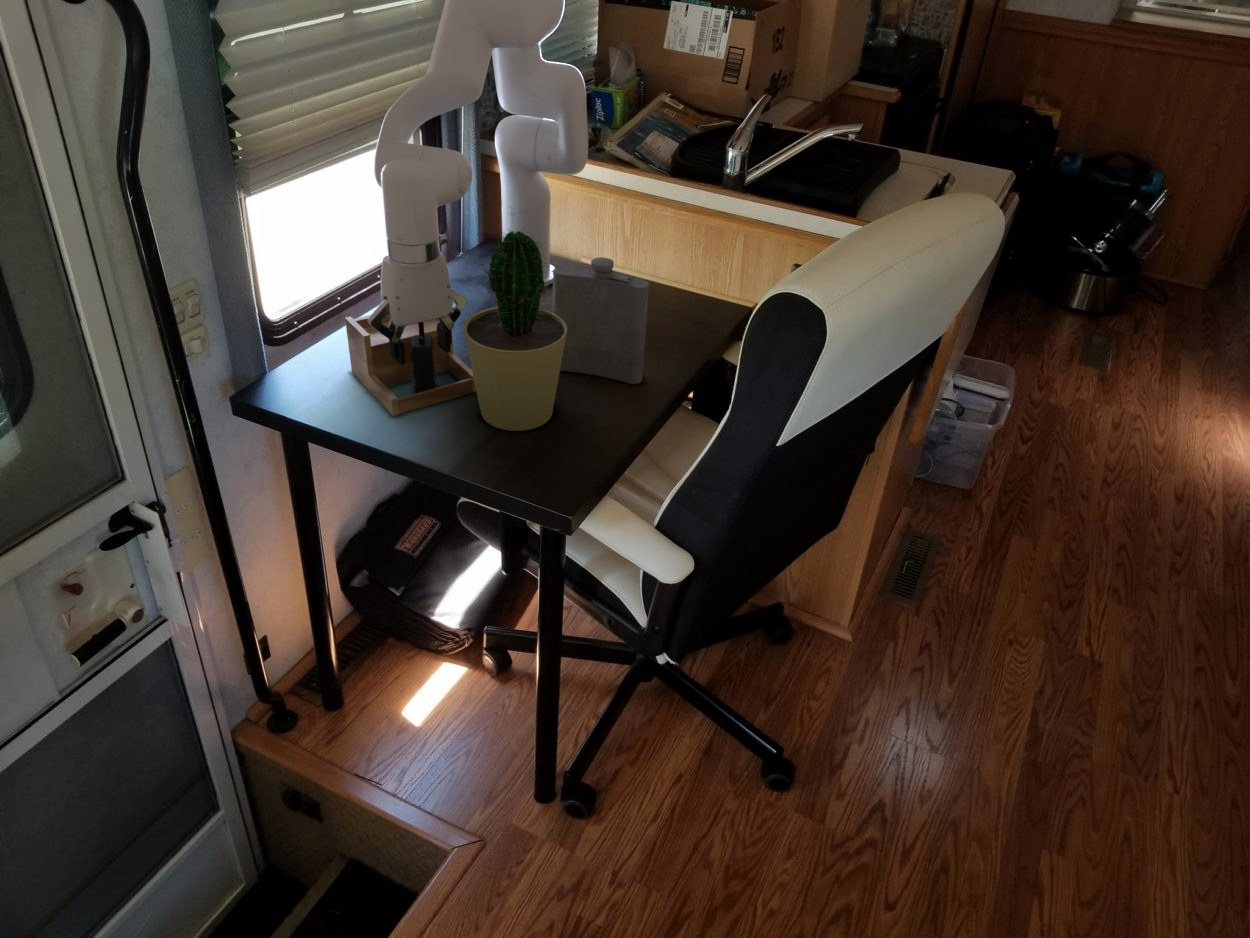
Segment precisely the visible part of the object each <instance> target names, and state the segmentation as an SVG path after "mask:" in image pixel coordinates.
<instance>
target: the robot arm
mask: <svg viewBox="0 0 1250 938" xmlns="http://www.w3.org/2000/svg"><path fill="white" fill-rule="evenodd" d="M564 11H565V0H445V2H444V4H443V9H442V12H441V16H440V19H439V24H438V27H437V31H436V35H435V39H434V43H433V46H432V51H431V55H430V58H429V62H428V67H427V70H426V72H425V74H424V75H423V76H422V77H421V78H420V79H418V80H417V81H416V82H415V83H413V84H412V85H410V86H409V87H408V88H407V89H406V90H405V91H404V92H402V94H401V95H400V96H399V97H398V98H397V99H396V100H395V101H394V103H393V104H392V105H391V106H390V107H389V109H388V110H387V112H386V113H385V116H384V118H383V121H382V123H381V127H380V131H379V135H378V138H377V139H378V140H377V142H376V147H375V150H374V151H375V152H374V157H373V176H374V179H375V182H376V184H377V185H378V186H379V187H380V188H381V193H382V204H383V205H382V206H383V215H384V227H385V235H386V237H385V238H386V247H387V255H385V256H383V258H382V261H381V271H380V304H379V305H378V307H376V308H375V309H374V311H373V312H372V313H371V314H369V315H370V317H369V318H368V319H367V321H368V323H369V324H370V325H371V326H373V327H374V328H375V329H376V330H378V331H379V332H380V333H381V334H382V335H384V336H385V337H387V338H388V339H389V344H390V353H391V357H392V358H393V359H395V360H396V361H397V362H398V363H399V364H400V365H404V364H405V363H406V361H405V350H404V342H403V341H402V340H401V339H400V338H401V336H402V333H403V331H404V328H405V326H406V325H411V324H415V323H419V322H424V321H428V320H432V319H436V318H438V319H439V321H440V322H439V323H437V339H438V346H439V347H440V348H441V349H442V350H443V351H445V352H446V353H450V352H451V347H450V345H451V344H452V341H453V333H452V334H451V329H452V330H454V327H455V324H456V322H457V320H458V319H459V317H461V315H462V311H463V310H464V309H465V307H466V305H467V304H468V299H467V298H466V297H465V296H463V295H462V294H460V293H459V292H456V291H455V290H453V289H452V285H451V278H450V273H449V269H448V265H447V261H446V257H445V254H444V253H443V252H442V246H443V245H444V244H447V243H448V237H447V235H446V234H445V233H444V234H440V232H439V231H440V230H439V229H440V228H439V215H438V208H439V207H442V206H445V205H449V204H452V203H455V202H457V201H459V200H460V199H462V198H463V197H464V196H465V195H466V194H467V193H468V191H469V189H470V187H471V184H472V181H473V167H472V165H471V162H470V160H469V159H468V158H467V156H466V155H464V154H463V153H462V152H460V151H457V150H454V149H450V148H443V147H435V146H429V145H423V144H417V143H409V142H410V140H411V138H412V136H413V135H414V133H415V132H416V130H417V129H419V127H421V126H422V125H423V124H425V123H426V122H427V121H430V120H431V119H433V118H435V117H438V116H440V115H444V114H446V113H449V112H451V111H454V110H458V109H460V108H463V107H465V106H468V105H471V104H473V103H475V102H477V101H478V100H479V99H480V98H481V96H482V93H483V91H484V86H485V82H486V77H487V74H488V69H489V65H490V62H491V57H492V65H493V74H494V80H495V81H494V83H495V89H496V95H497V99H498V103H499V105H500V107H501V108H502V110H504V111H505V112H507V113H509V114H512V115H508V116H506V117H503V119H501V120H500V121H499V122H498V124H497V126H496V128H495V131H494V132H495V133H494V147H495V152H496V157H497V163H498V167H499V177H500V195H501V197H500V198H501V200H500V201H501V238H502V237H505V235H506V234H508V233H510V232H512V231H513V232H514V234H515V232H516V233H517V231H519V232H520V233H521V230H522V229H523V230H522V232H523V234H524V235H527V236H529V237H530V238H531V236H532V240H534V242H538V241H539V242H538V244H539V243H540V244H539V245H538V244H537V247H538V249H539V250H540V251H539V252H540V253H541V255H542V256H544V257H542V256H541V260H542V266H547V267H542V270H543V275H544V276H543V280H544V283H545V282H546V283H552V284H553V270H554V269H555V268H556V267H555V266H554V265H552V264H551V201H552V200H551V199H552V198H551V189H550V187H549V184H548V181H547V179H546V178H545V175H544V174H543V173H550V174H556V175H563V176H575V175H578V174H579V173H581V172H582V171H583V170H584V169H585V167H586V165H587V162H588V155H589V131H588V110H587V108H588V107H587V92H586V83H585V80H584V77H583V75H582V73H581V71H580V69H578V68H577V67H576V66H574V65H572V64H568V63H564V62H556V61H548V60H546V59H544V58H543V57H542V50H541V43H542V42H543V41H544V40H545V39H547V38H549V36H550V35H552V34H553V33H554V32H555V31H556V29H557V28H558V27H559V25H560V23H561V21H562V19H563V15H564ZM523 227H524V228H523ZM507 229H508V230H507ZM509 229H510V230H509ZM503 230H504V231H503ZM508 231H509V232H508ZM502 232H503V233H502ZM504 233H505V234H504ZM525 233H526V234H525ZM527 233H528V234H527ZM502 234H503V235H504V236H502ZM530 234H531V235H530ZM503 239H504V238H503ZM501 240H502V239H501ZM501 242H503V240H502V241H501ZM541 242H542V243H541ZM545 242H546V243H545ZM543 245H544V246H543ZM541 246H542V247H541ZM539 247H540V248H539ZM545 249H546V250H545ZM542 251H543V252H542ZM543 258H547V259H543ZM543 262H546V263H543ZM544 272H545V273H544ZM546 278H547V279H546ZM549 285H550V284H544V287H545V286H549ZM385 316H386V317H391V319H390V321H389V324H388V326H387V327H386V326H385V325H383V324H382V323H381V321H382V319H383V318H384V317H385Z"/></svg>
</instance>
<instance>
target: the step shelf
mask: <svg viewBox="0 0 1250 938" xmlns="http://www.w3.org/2000/svg"><path fill="white" fill-rule="evenodd" d="M370 315H371V314H369V315H363V316H360V317H356V318H353V317H352V316H346V317H344V321H345V328H346V329H345V330H346V336H347V343H348V344H347V345H348V353H349V361H350V367H351V368H350V369H351V373H352V374H353V375H354V376H355V378H357V379H358V381H359V382H360V383H361V384H362V385H363V386H364V387H365V388H366V389H367V390H368V391H369V392H370V393H371V394H372V395H373V397H374V398H375V399H377V401H378V402H379V403H380V404H381V405H382V406H383V407H384V408H385V409H386V410H387V412H388V413H390V415H391V416H393V417H395V416H397V415H401V414H405V413H408V412H411V411H415V410H418V409H422V408H425V407H428V406H431V405H432V406H433V405H435V404H439V403H443V402H446V401H449V400H452V399H456V398H459V397H462V396H466V395H470V394H473V393H477V391H476V386H475V382H474V377H473V372H472V368H471V367H469V366H468V364H466V363H465V362H464V361H462V360H461V359H460V358H459V357H458V356H457V355H456V354H454V345H453V344H454V343H453V340H452V344H451V345H450V347H451V352H450V353H446V352H445V351H443V350H442V349H441V348H440V347H439V346H438V339H437V323H439V322H440V321H439V319H438V318H436V319H432V320H428V321H424V335H430V336H432V339H433V354H434V368H435V375H437V374H441V373H446V372H448V371H449V372H450V373H451V374H452V375H453V376H455V378H457V379H458V380H459V381H455V382H451V383H447V384H444V385H441V386H438V387H437V386H436V388H434V389H430V390H426V391H423V392H419V393H416V394H415V393H412V394H409V395H406V396H402V397H398V396H396V395H395V394H394V393H393V392H392V391H391V390H390V389H389V388H390V387H395V386H398V385H402V384H405V383H408V382H412V381H413V382H414V372H413V362H411V349H412V348H411V347H412V337H413V336H414V335H419V325H418V323H415V324H411V325H406V326H405V328H404V331H403V333H402V336H401V338H400V339H401V340H402V341H403V342H404V350H405V361H406V363H405V364H404V365H400V364H399V363H398V362H397V361H396V360H395V359H393V358H392V357H391V353H390V344H389V339H388V338H387V337H385V336H384V335H382V334H381V333H380V332H379V331H378V330H376V329H375V328H374V327H373V326H371V325H370V324H369V323H368V321H367V319H368V318H369V317H370ZM390 319H391V317H386V316H385V317H384V318H383V319H382V321H381V323H382V324H383V325H385V326H386V327H387V326H388V324H389V321H390ZM451 334H452V335H453V329H451Z"/></svg>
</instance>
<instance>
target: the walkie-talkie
mask: <svg viewBox="0 0 1250 938" xmlns="http://www.w3.org/2000/svg"><path fill="white" fill-rule="evenodd" d="M418 325H419V335H414V336H413V337H412V347H411V348H412V349H411V362H413V372H414V380H413V382H414V383H413V385H414V394H416V393H419V392H423V391H426V390H430V389H434V388H437V383H436V374H435V368H434V354H433V339H432V336H430V335H424V322H419V323H418Z"/></svg>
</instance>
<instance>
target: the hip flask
mask: <svg viewBox="0 0 1250 938" xmlns="http://www.w3.org/2000/svg"><path fill="white" fill-rule="evenodd" d="M614 262H615V261H614V260H613V259H611V258H608V257H602V256H601V257H594V258H592V259H591V261H590V267H591V268H592V269H588V268H579V267H567V266H560V267H559V266H558V267H555V269H554V270H553V283H552V313H554V314H555V315H557V316H559V317H560V318H561V319H562V320H563V321H564V322H565V324H566V326H567V333H566V340H565V346H564V351H563V356H562V362H561V367H560V372H570V373H571V372H573V373H580V374H586V375H593V376H597V377H598V376H599V377H603V378H608V379H612V380H616V381H620V382H624V383H627V384H631V385H635V384H636V385H637V384H640V383H642V381H643V374H644V373H643V371H644V361H645V360H644V359H645V345H646V344H645V343H646V334H647V333H646V330H647V319H648V318H647V317H648V306H649V305H648V304H649V292H650V291H649V290H650V282H648V281H647V280H645V279H642V278H637V277H633V276H630V275H626V274H622V273H618V272H614V271H613V269H614V265H615V263H614Z"/></svg>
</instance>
